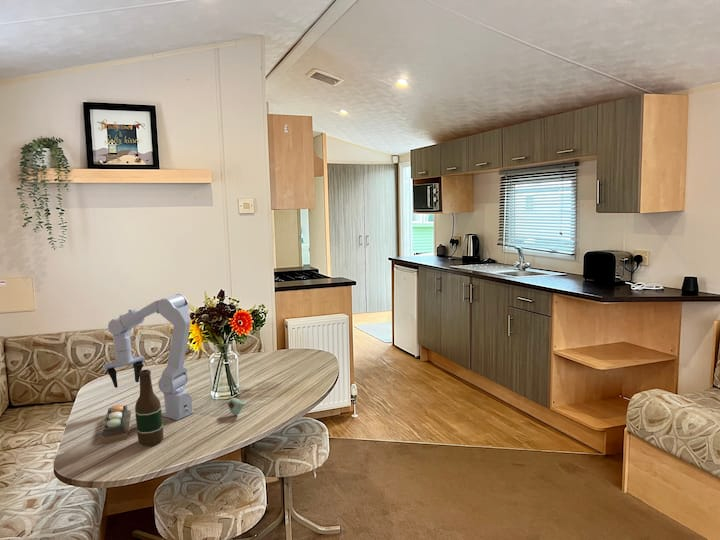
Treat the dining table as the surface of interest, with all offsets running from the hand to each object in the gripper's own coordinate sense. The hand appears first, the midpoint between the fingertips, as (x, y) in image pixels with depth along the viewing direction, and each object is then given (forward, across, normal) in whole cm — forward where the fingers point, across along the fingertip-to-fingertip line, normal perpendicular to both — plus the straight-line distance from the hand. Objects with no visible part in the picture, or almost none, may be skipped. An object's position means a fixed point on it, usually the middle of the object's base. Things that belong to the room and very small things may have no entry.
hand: (126, 384), depth 204 cm
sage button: (+7, +11, +21) cm, 24 cm away
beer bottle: (+10, +3, +34) cm, 36 cm away
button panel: (+10, +9, +15) cm, 20 cm away
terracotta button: (+7, +6, +9) cm, 13 cm away
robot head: (+10, -26, +35) cm, 45 cm away
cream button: (+7, +9, +15) cm, 18 cm away
